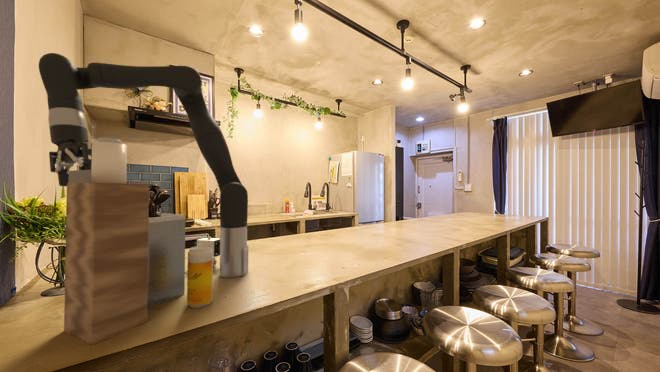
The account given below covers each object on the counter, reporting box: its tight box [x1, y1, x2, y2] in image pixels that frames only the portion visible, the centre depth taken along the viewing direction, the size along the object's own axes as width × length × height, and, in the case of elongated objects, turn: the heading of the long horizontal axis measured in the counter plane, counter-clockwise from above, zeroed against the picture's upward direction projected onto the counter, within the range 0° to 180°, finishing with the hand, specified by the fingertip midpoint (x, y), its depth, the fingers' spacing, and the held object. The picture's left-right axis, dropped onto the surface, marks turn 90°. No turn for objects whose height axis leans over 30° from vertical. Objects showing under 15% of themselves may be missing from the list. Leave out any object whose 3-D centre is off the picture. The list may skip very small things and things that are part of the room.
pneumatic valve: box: [192, 235, 220, 267], centre depth 101 cm, size 6×12×12 cm, turn 78°
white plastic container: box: [68, 137, 128, 183], centre depth 60 cm, size 18×6×10 cm, turn 65°
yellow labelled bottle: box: [186, 246, 214, 309], centre depth 68 cm, size 6×6×15 cm
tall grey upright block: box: [147, 213, 186, 309], centre depth 72 cm, size 10×10×23 cm
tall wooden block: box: [63, 182, 150, 346], centre depth 57 cm, size 12×10×32 cm
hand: (75, 183), depth 71 cm, fingers open, 8 cm apart
